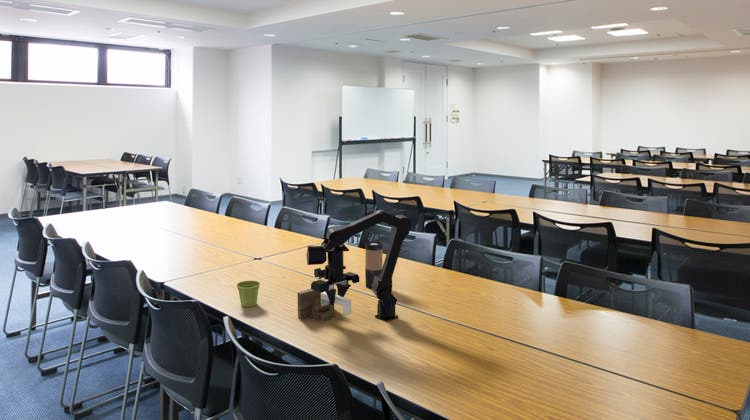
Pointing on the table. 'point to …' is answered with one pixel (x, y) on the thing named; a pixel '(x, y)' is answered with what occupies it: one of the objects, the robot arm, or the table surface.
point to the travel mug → (373, 261)
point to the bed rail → (337, 302)
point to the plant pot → (248, 292)
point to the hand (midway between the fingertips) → (335, 304)
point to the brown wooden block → (313, 306)
